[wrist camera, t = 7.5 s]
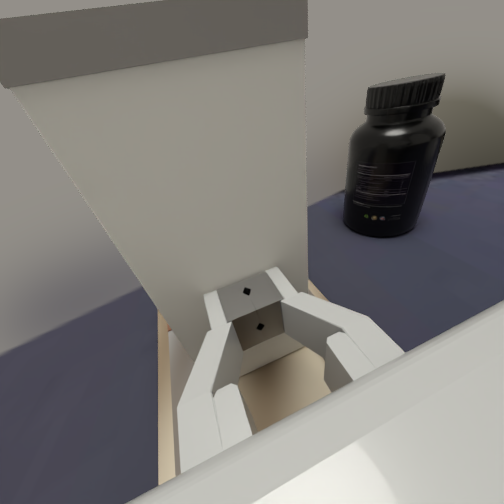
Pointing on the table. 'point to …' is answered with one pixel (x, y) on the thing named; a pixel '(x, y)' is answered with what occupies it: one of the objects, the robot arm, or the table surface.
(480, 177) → the table surface
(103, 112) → the block
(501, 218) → the table surface
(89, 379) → the table surface
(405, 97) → the supplement bottle
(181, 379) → the chute
